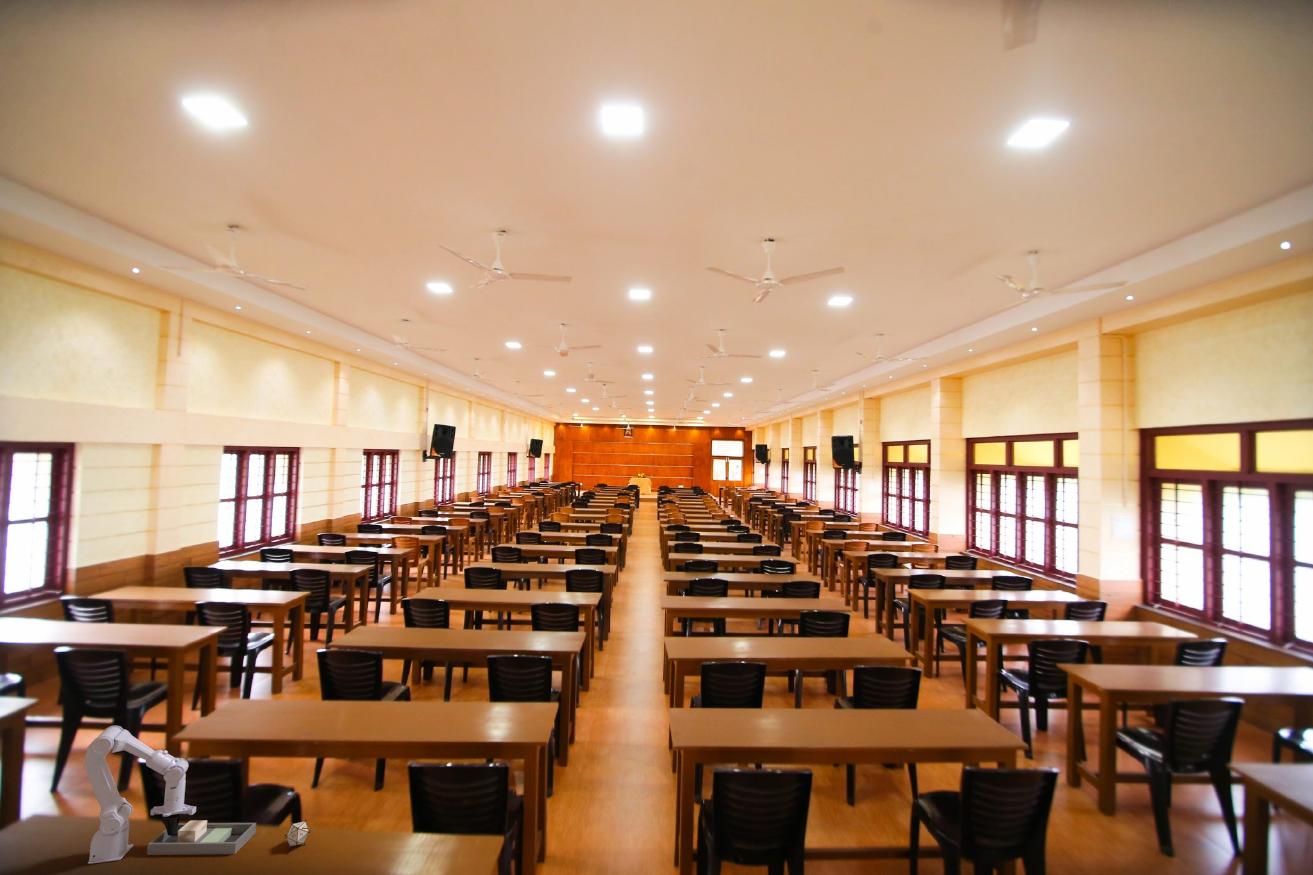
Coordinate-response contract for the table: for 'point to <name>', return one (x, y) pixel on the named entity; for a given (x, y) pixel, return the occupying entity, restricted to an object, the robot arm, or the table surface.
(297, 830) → the game die
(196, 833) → the cream block
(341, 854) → the table surface
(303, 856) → the table surface
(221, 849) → the gray tray
